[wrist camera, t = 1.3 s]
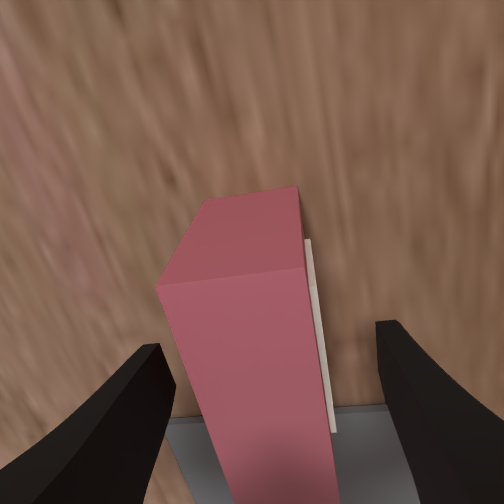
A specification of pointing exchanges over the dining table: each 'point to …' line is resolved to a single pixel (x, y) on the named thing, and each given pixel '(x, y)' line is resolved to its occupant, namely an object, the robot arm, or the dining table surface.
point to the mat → (345, 452)
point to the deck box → (256, 346)
